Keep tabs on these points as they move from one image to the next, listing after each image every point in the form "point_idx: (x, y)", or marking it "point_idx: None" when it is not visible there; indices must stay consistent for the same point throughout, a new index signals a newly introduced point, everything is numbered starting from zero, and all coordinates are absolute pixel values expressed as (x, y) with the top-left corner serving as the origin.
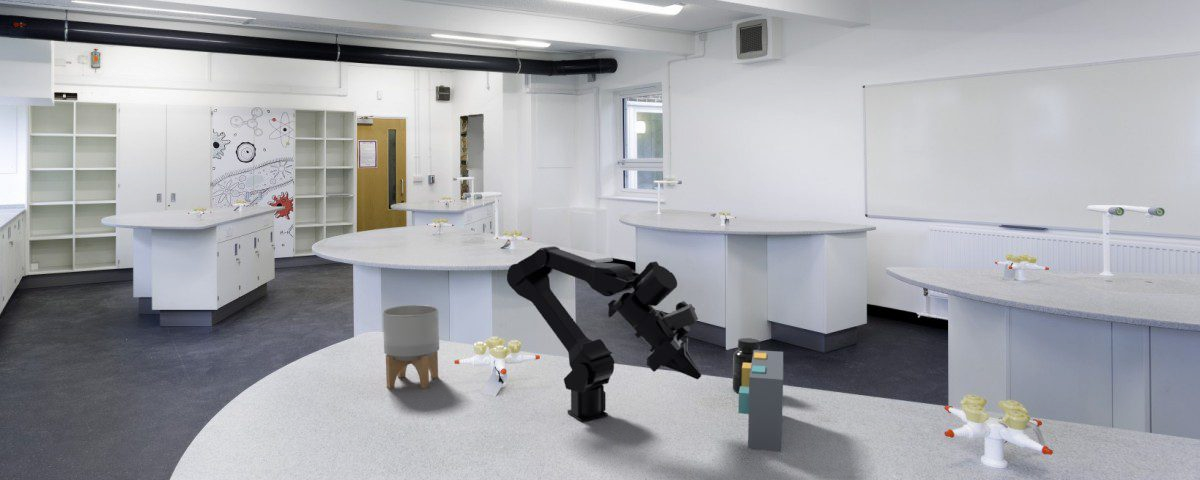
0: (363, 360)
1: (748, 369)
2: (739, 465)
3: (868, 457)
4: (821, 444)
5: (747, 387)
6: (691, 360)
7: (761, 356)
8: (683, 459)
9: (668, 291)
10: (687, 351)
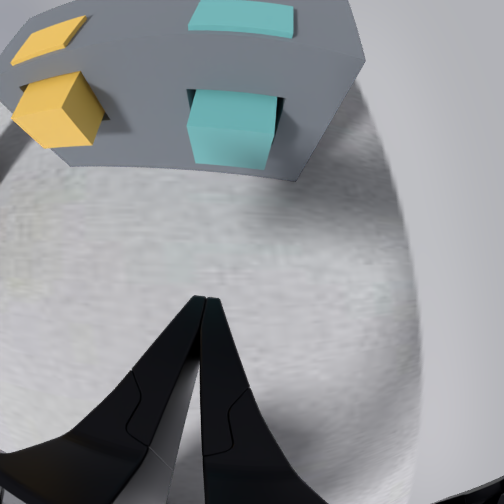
0: None
1: (73, 89)
2: (382, 209)
3: None
4: None
5: (200, 102)
6: (175, 384)
7: (61, 29)
8: (376, 326)
9: None
10: (115, 441)
